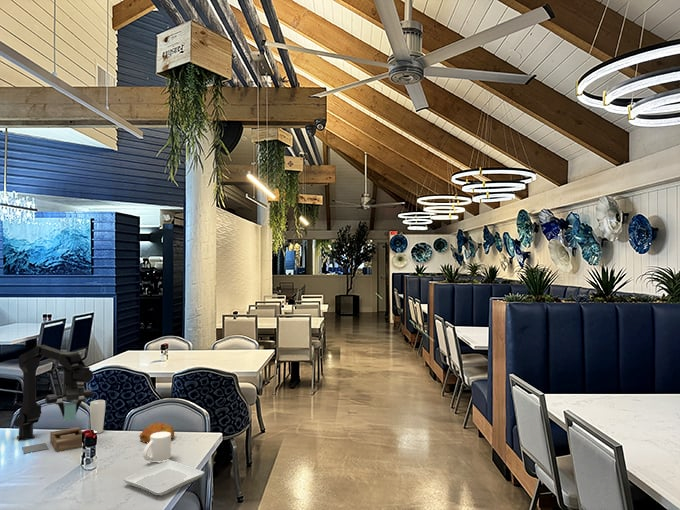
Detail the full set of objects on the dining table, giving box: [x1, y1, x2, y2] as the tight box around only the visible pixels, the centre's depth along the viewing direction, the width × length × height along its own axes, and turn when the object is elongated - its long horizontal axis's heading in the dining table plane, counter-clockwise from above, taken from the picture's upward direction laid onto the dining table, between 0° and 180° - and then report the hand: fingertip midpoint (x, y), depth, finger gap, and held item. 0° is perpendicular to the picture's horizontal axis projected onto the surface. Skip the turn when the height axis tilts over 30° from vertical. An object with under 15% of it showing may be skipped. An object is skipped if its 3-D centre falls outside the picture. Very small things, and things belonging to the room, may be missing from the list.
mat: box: [21, 442, 49, 455], centre depth 213 cm, size 9×9×1 cm
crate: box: [49, 426, 83, 453], centre depth 219 cm, size 16×12×5 cm
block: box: [62, 401, 77, 422], centre depth 220 cm, size 4×4×7 cm
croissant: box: [138, 422, 175, 444], centre depth 228 cm, size 14×16×8 cm
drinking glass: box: [89, 399, 106, 435], centre depth 235 cm, size 7×7×15 cm
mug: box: [142, 432, 172, 462], centre depth 201 cm, size 8×10×12 cm
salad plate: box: [122, 459, 205, 496], centre depth 180 cm, size 21×21×3 cm
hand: (69, 415), depth 219 cm, fingers closed on block, 4 cm apart
